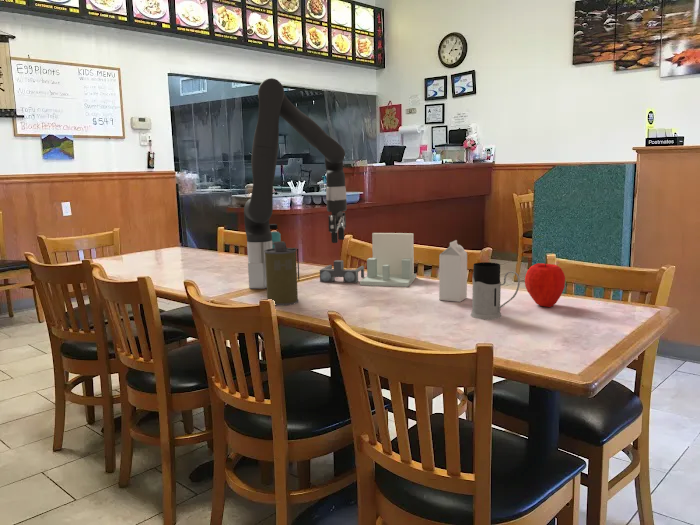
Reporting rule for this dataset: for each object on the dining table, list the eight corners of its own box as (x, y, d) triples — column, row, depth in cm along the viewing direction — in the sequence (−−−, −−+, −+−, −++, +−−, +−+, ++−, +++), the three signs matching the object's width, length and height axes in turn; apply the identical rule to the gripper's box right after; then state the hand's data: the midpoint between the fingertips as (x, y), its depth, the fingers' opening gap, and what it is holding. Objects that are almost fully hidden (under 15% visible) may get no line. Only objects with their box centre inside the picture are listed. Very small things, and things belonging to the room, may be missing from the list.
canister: (269, 306, 182) (266, 244, 178) (264, 299, 192) (261, 241, 188) (302, 303, 185) (300, 242, 181) (296, 297, 195) (294, 239, 191)
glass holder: (479, 310, 171) (479, 261, 169) (524, 317, 162) (526, 265, 160) (465, 316, 165) (465, 265, 162) (512, 323, 156) (513, 270, 153)
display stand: (408, 286, 207) (407, 239, 204) (360, 285, 212) (359, 238, 209) (416, 277, 223) (416, 233, 221) (371, 276, 229) (370, 232, 226)
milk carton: (439, 300, 185) (439, 242, 182) (446, 295, 191) (446, 239, 188) (460, 302, 182) (460, 243, 178) (466, 297, 188) (467, 240, 185)
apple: (516, 303, 178) (516, 261, 176) (546, 299, 182) (548, 258, 180) (541, 312, 167) (542, 267, 165) (573, 307, 171) (574, 264, 169)
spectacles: (355, 282, 216) (355, 262, 215) (319, 281, 220) (319, 261, 219) (364, 276, 228) (363, 257, 227) (329, 275, 232) (329, 256, 231)
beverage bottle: (281, 270, 247) (279, 224, 243) (266, 270, 247) (264, 224, 244) (283, 267, 253) (281, 223, 250) (268, 268, 253) (266, 223, 250)
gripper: (332, 197, 223) (334, 238, 225) (320, 200, 209) (322, 243, 212) (351, 197, 220) (352, 238, 223) (340, 199, 207) (342, 243, 210)
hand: (338, 241), depth 218 cm, fingers open, 8 cm apart
